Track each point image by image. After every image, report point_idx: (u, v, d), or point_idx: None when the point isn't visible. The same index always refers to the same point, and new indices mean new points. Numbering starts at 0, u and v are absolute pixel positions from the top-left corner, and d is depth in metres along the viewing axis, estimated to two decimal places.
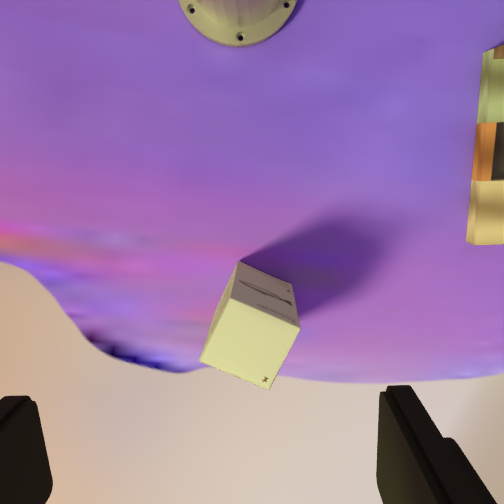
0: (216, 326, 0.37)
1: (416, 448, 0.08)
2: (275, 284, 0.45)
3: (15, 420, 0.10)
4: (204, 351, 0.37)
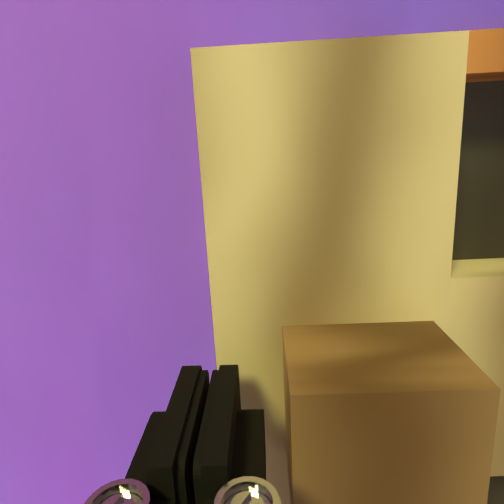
0: None
1: (208, 414, 0.09)
2: None
3: (203, 385, 0.11)
4: None
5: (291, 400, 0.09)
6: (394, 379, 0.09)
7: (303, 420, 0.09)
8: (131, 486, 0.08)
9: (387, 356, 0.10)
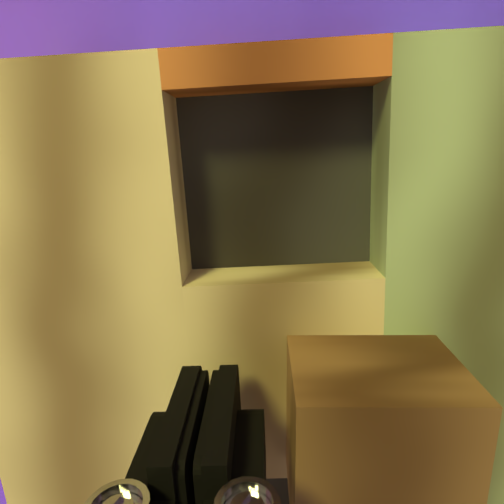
0: None
1: (208, 414, 0.09)
2: None
3: (204, 385, 0.11)
4: None
5: (297, 412, 0.09)
6: (398, 395, 0.09)
7: (307, 432, 0.09)
8: (131, 486, 0.08)
9: (391, 370, 0.10)
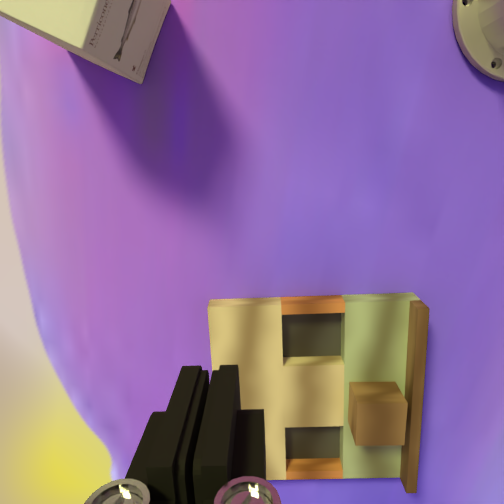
0: None
1: (208, 414, 0.09)
2: (141, 48, 0.31)
3: (204, 385, 0.11)
4: None
5: (357, 404, 0.36)
6: (382, 400, 0.37)
7: (360, 409, 0.37)
8: (131, 486, 0.08)
9: (381, 393, 0.38)
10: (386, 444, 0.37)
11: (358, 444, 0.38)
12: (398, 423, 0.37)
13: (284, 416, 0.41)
